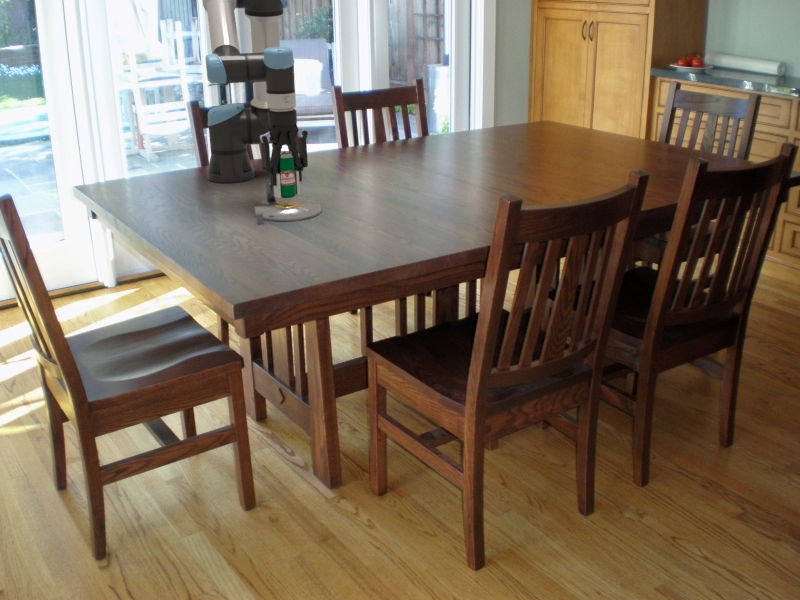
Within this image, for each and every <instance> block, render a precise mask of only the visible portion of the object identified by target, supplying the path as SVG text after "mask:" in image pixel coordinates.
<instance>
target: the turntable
mask: <svg viewBox="0 0 800 600" xmlns="http://www.w3.org/2000/svg"><path fill="white" fill-rule="evenodd" d="M265 189H266V190H265V191H266V199H263V200H261V201H258V202H257V203H255V205H254V214H255V216H256V213H263V221H264V220H265V221H270V222H298V221H304V220H309V219H311V218H315V217H316V216H319V215H320V213H322V212H321V211H322V208H321V207H322V204H321V202H320V201H319V200H318V199H315V198H311V197H306V196H294V197H292V198H277V197H275V196H274V186H272V185H271V183H270V181H265Z"/></svg>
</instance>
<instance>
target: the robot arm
mask: <svg viewBox="0 0 800 600" xmlns="http://www.w3.org/2000/svg"><path fill="white" fill-rule="evenodd" d="M201 1H202V6H203V8H204V11H205V12H206V14H207V22H208V31H209V39H210V47H211V54H206V56H205V64H206V65H205V68H206V77H207V78H206V79H207V81H208V83H211V84H222V85H224V84H236V83H237V84H239V83H254V84H253V87H254V97H253V99H251V100H250V107H245V105H244V103H241V102H233V103H227V104H222V105H217V106H214V107H212V108H210V109H209V110H208V112H207V126H208V135H209V145H210V146H209V147H210V159H209V163H208V167H207V173H206V175H207V179H208V181H210V182H213V183H221V184H224V183H225V184H229V183H231V184H233V183H241V182H246V181H250V180H252V179H254V178H255V176H256V175H255V169H254V166H253V164H252V162H251V159H250V156H249V154H248V145H261V150H260V151H261V165H262V171H263V172H264V173H267V174H269V179H270V181H269V182H270V183H271V185H272V186H274V196H275V198H281V186H280V174H278V173H277V169H278V163H279V157H280V151H282V148H283V146H284V145H286V147H287V148H288V151H291V152H293V155H294V160H295V177H296V196H299V195H301V189H300V188H301V186H300V183H301V182H302V181H303V177H302V173H303V171H304V168H307V167H308V166H309V163H308V162H309V161H308V147H307V138H308V131H307V130H305V129H299V127H298V125H297V123H298V118H297V110H296V109H295V108H296V107H297V98H296V88H295V87H296V86H295V85H296V84H295V83H296V82H295V60H294V52H293V49H292V48H290V47H287V46H281V42H280V21H279V20H280V19H281V18H282V17H283V16H284V9H287V8H288V7H289V0H201ZM236 9H243V10H244V15H245V17H247V18H248V19H249V23H250V36H251V40H250V41H251V51H252V52H245V53H244V52H243V53H241V50H240V49H241V48H240V44H239V43H240V42H239V37H238V36H239V35H238V30H237V29H238V28H237V23H236V15H235V10H236ZM296 137H297V143H296V140H295V138H296ZM270 144H271V147H272V149H270ZM297 145H298V149H297ZM270 150H271V151H270ZM270 152H271V153H270Z"/></svg>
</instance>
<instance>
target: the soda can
mask: <svg viewBox="0 0 800 600" xmlns="http://www.w3.org/2000/svg"><path fill="white" fill-rule="evenodd" d="M277 173H278V174H280V186H281V198H292V197H296V196H297V194H296V177H295V160H294V155H293V152H291V151H289V150H281V151H280V157H279V163H278V169H277Z"/></svg>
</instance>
